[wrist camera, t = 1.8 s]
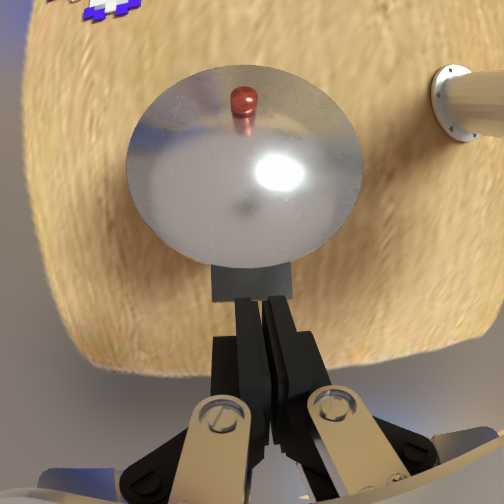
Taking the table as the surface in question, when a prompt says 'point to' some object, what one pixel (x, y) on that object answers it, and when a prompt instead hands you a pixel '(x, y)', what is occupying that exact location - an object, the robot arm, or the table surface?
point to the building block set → (108, 8)
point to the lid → (244, 174)
